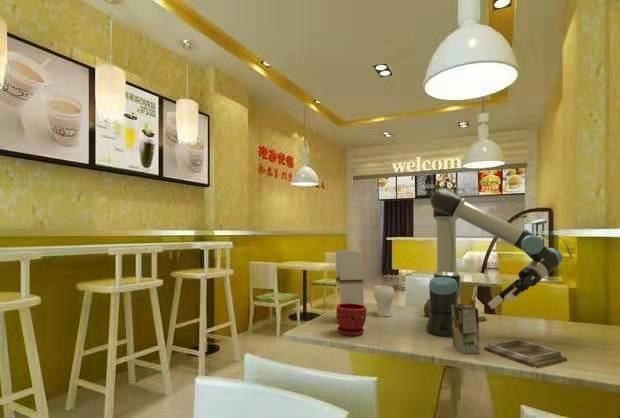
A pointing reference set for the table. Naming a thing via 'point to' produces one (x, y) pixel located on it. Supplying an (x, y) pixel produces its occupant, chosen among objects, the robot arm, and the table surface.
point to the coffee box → (465, 328)
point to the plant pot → (351, 318)
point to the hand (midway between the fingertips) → (498, 303)
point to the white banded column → (350, 276)
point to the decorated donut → (481, 316)
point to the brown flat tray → (526, 352)
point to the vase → (427, 308)
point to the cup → (384, 299)
